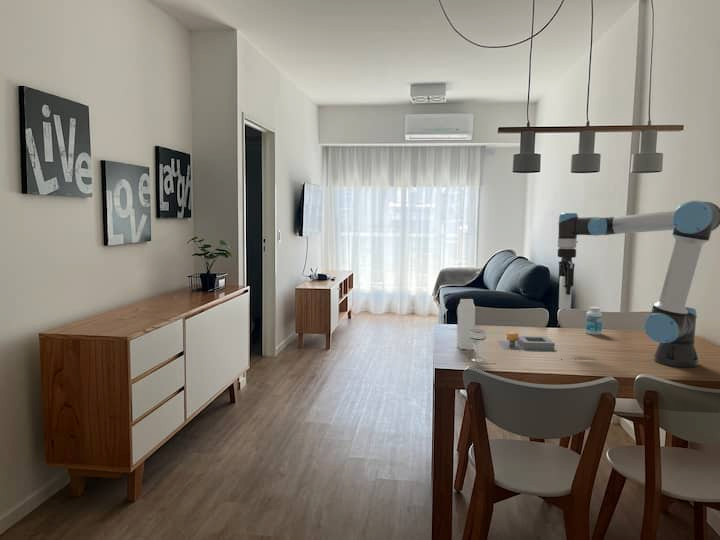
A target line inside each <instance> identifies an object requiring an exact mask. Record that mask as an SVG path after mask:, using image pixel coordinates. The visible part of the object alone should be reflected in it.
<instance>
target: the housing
mask: <svg viewBox="0 0 720 540" xmlns="http://www.w3.org/2000/svg"><path fill="white" fill-rule="evenodd" d="M497 343H498V344H499V345H500V346H501V348H503V350H504V351H505V350H506V351H534V352H535V351H540V352H541V351H542V352H557V350H556V349H555V342H554V341H553V340H551V339H550V338H549V337H547V336H538V335H536V336H535V335H518V341H509V340H506V341H505V340H504V341H503V340H497Z"/></svg>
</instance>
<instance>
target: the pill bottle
mask: <svg viewBox="0 0 720 540" xmlns="http://www.w3.org/2000/svg"><path fill="white" fill-rule="evenodd" d="M600 310H601V308H600V307H599V306H590V307H589V310H588V311H586V316H585V317H586V318H585V329H584V330H585V333H586V334H588V335H593V336H599V335H601V334H602V327H603V313H602V312H601V311H600Z"/></svg>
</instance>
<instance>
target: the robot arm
mask: <svg viewBox="0 0 720 540" xmlns="http://www.w3.org/2000/svg"><path fill="white" fill-rule="evenodd" d="M558 218H559V219H558V238H557V248H558V249H557V257H558V258H561V261H558V282H557V283H558V284H560V277H561V276H565V286H564V302H571V303H572V291H571V287H572V288H573V287H574V281H575V279H574V276H575V263H573V260H572V259H573V258H577V249H576V248H577V244H578V243H579V241H578V240H577V237H578V236H594V237H595V236H610V235H619V234H635V233H649V232H661V231H662V232H663V231H664V232H665V231H672V236H673V238H674V239H675V242H674V244H673V249H672V253H671V256H670V259H669V263H668V267H667V272H666V273H665V274H666V275H665V278H664V281H663V285H662V289H661V292H660V296H659V300H658V301H656V302H654V303H653V305H652V309H651V311H650V312H651V313H650V314H649V315H648V316H647V317H646V319H645V320H644V323H643V329H644V333H645V334H646V335H647V337H648V338H649V339H650V340H652V341H654V342H655V343H658V346H657V349H656V350H655V353H654V355H653V360H654V362H657V363H659V364H662V365H665V366H666V365H667V366H671V367H679V368H695V367H697V366H699V359H698V354H697V351H696V347H695V338H696V322H697V318H698V317H697V310H696V308H694V307H690V306H689V307H688V306H686V303H687V301H688V296H689V293H690V290H691V286H692V284H693V279H694V276H695V272H696V268H697V266H698V261H699V258H700V255H701V252H702V248H703V245H705V243H708V242H709V241H710V237H711V234H712V232H714V231H715V230H716V229H718V228H719V227H720V207H719V206H718V205H717V204H715V203H713V202H710V201H702V200H689V201H687V202H684V203H682V204H680V205H679V206H678V207H677V208H676V209H675V210H669V211H658V212H651V213H649V212H648V213H639V214H627V215H621V216H619V215H618V216H608V217H600V216H599V217H598V216H594V217H593V216H592V217H579V216H578V213H576V212H563V213H560V214H559V216H558Z"/></svg>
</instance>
